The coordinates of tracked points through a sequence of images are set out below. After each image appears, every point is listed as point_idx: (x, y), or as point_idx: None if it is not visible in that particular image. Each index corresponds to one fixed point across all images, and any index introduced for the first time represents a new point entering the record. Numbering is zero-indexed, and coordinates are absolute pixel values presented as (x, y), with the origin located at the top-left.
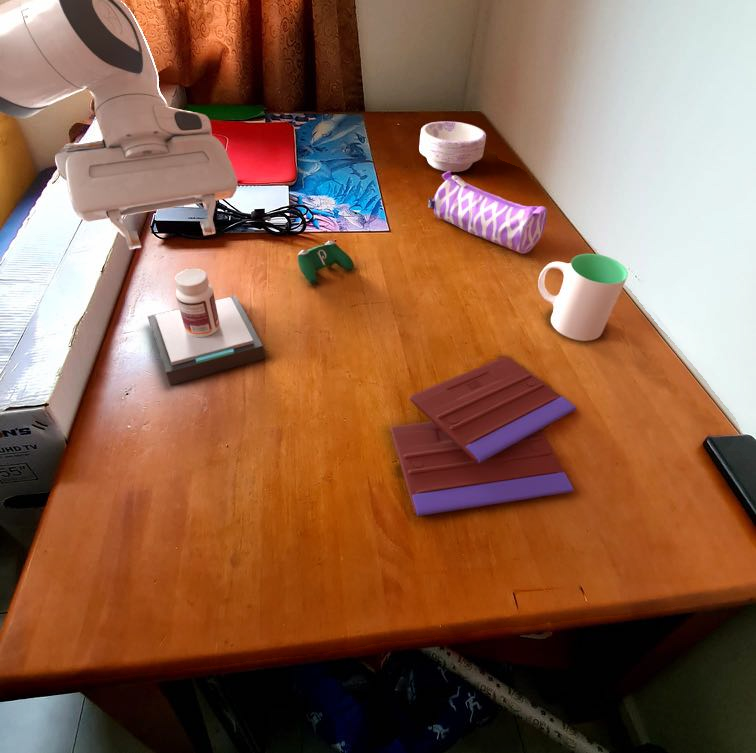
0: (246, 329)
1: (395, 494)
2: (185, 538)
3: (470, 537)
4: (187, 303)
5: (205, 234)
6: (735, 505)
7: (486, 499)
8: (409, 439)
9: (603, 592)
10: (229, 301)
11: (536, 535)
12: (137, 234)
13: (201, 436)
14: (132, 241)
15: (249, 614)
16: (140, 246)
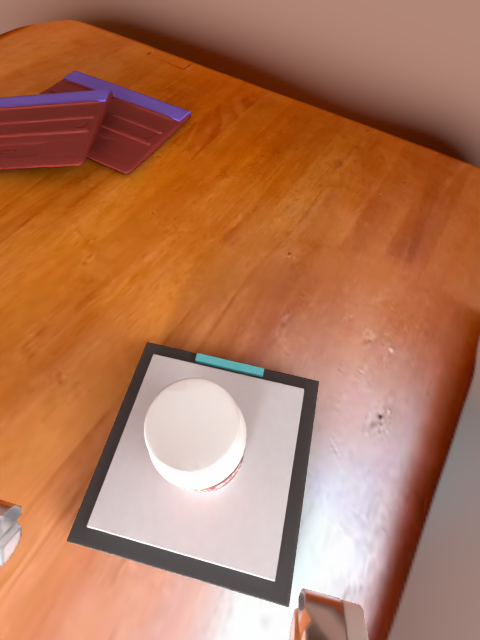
0: (142, 388)
1: (186, 138)
2: (370, 196)
3: (171, 95)
4: (235, 402)
5: (16, 524)
6: (8, 32)
7: (136, 93)
8: (128, 153)
9: (140, 48)
10: (101, 509)
11: (133, 77)
12: (306, 634)
13: (310, 282)
14: (338, 612)
15: (345, 134)
16: (298, 608)
